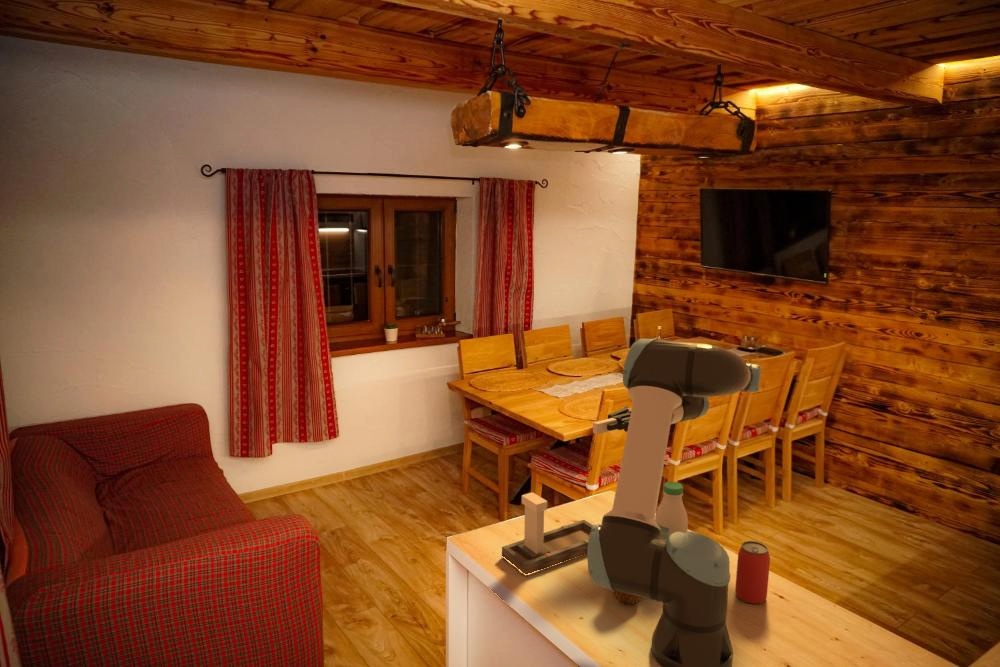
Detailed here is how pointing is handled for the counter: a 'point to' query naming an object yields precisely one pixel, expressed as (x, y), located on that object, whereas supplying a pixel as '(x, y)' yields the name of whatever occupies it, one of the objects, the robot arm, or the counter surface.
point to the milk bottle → (671, 510)
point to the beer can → (752, 572)
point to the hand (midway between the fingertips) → (595, 428)
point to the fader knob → (533, 527)
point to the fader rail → (553, 547)
